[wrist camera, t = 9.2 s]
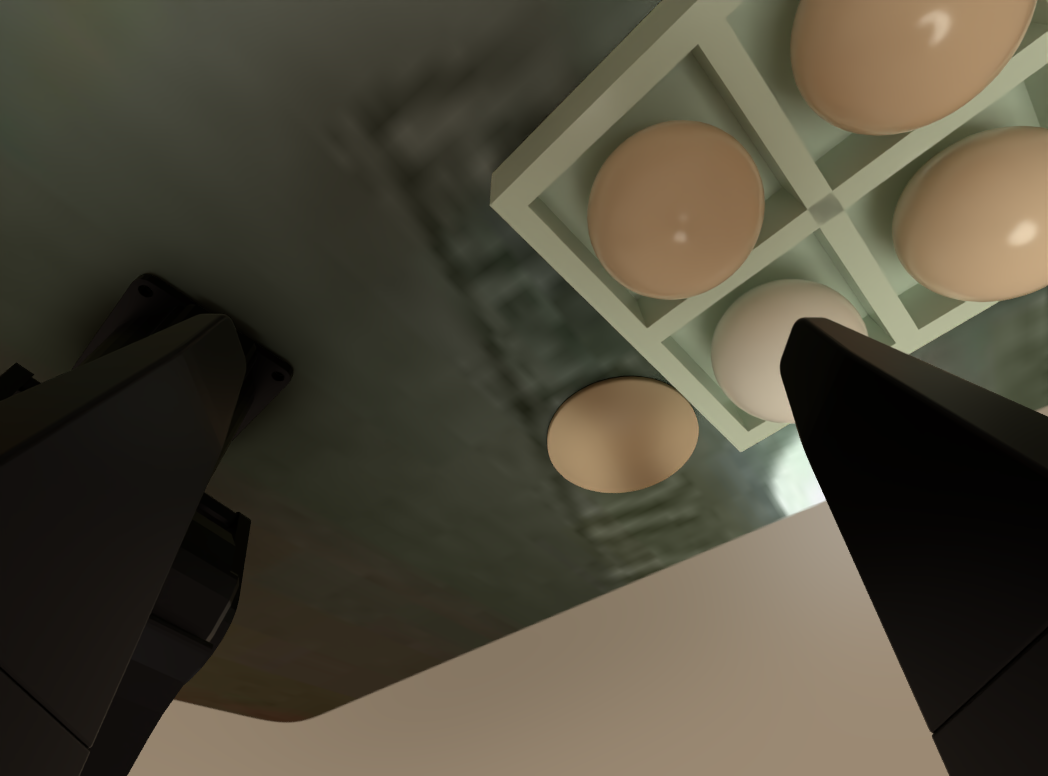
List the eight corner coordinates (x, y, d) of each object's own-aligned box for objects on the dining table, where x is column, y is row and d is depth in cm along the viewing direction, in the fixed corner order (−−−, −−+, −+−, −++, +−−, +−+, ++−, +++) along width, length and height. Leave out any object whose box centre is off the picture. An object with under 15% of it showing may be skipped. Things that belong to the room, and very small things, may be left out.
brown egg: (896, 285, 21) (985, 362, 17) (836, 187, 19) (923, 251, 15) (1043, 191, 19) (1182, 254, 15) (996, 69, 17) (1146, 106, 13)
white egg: (735, 388, 24) (785, 475, 20) (667, 316, 22) (709, 398, 18) (847, 314, 22) (927, 393, 18) (786, 226, 20) (862, 295, 16)
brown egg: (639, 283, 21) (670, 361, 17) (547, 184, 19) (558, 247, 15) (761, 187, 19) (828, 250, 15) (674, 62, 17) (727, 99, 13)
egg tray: (719, 406, 26) (740, 452, 24) (491, 173, 19) (489, 205, 17) (1073, 182, 20) (1149, 213, 18) (917, -261, 13) (1006, -305, 11)
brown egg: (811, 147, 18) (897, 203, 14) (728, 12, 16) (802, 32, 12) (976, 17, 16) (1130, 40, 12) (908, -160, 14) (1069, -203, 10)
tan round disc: (609, 506, 30) (610, 511, 30) (516, 436, 27) (516, 442, 26) (725, 435, 27) (727, 441, 27) (636, 348, 24) (638, 353, 24)
